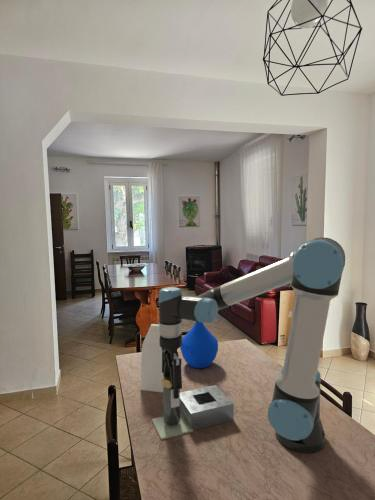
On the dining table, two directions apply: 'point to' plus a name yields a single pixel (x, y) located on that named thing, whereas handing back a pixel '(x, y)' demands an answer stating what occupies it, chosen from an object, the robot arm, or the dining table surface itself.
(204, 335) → the vase
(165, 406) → the grey and gold cylinder
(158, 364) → the milk
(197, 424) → the housing
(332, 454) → the dining table surface
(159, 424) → the mat
